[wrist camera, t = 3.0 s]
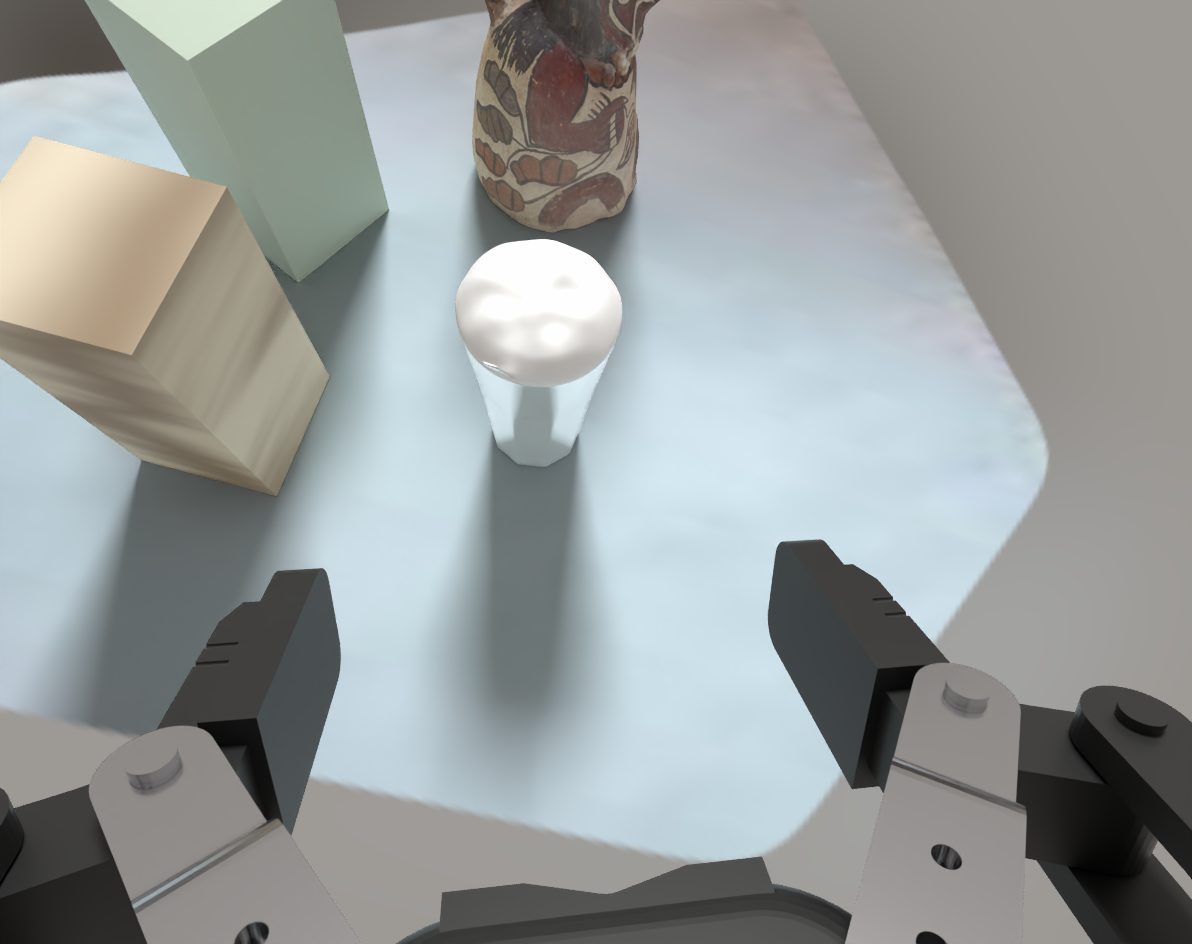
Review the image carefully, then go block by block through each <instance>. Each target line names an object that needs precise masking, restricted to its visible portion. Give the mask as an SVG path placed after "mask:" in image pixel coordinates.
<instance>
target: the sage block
mask: <svg viewBox="0 0 1192 944" xmlns="http://www.w3.org/2000/svg"><path fill="white" fill-rule="evenodd" d="M85 1H86V3H87V5H88V6H89V8H90V10H91V11H92V13H93V15H94V16H95V18H96V20H97V21H98V23H99V25H100V26H101V28H102V30H103V32H104V33H105V35H106V37H107V38H108V40H109V42H110V43H111V45H112V47H113V48H114V50H115V51H116V53H117V55H118V56H119V58H120V60H121V62H122V63H123V65H124V67H125V68H126V70H127V72H128V73H129V75H130V77H131V78H132V80H133V82H134V83H135V85H136V87H137V88H138V90H139V92H140V93H141V95H142V97H143V99H144V100H145V102H146V104H147V105H148V107H149V109H150V110H151V112H152V114H153V115H154V117H155V119H156V120H157V122H158V124H159V125H160V127H161V129H162V130H163V132H164V134H165V135H166V137H167V139H168V140H169V142H170V144H171V145H172V147H173V149H174V150H175V152H176V154H177V155H178V157H179V159H180V160H181V162H182V164H183V166H184V167H185V169H186V171H187V172H188V174H189V176H190V177H191V178H195V179H199V180H203V181H207V182H210V183H214V184H218V185H222V186H225V187H227V188H228V190H229V192H230V194H231V195H232V197H233V199H234V201H235V203H236V205H237V207H238V208H239V210H240V212H241V214H242V216H243V218H244V219H245V221H246V223H247V225H248V227H249V229H250V230H251V232H252V234H253V236H254V238H255V240H256V241H257V243H258V245H259V247H260V249H261V251H262V253H263V254H264V256H265V257H267V258H268V259H269V260H270V261H272V262H273V263H274V264H275V265H277V266H278V267H279V268H280V269H282V270H283V271H284V272H285V273H287V274H288V275H289V276H290V277H291V278H293V279H294V280H295V281H296V282H298V283H299V282H301V281H302V280H303V279H304V278H306V277H307V276H308V275H309V274H310V273H312V272H313V271H314V270H315V269H317V268H318V267H319V266H320V265H322V264H323V263H324V262H325V261H326V260H328V259H329V258H330V257H331V256H333V255H334V254H335V253H336V252H338V251H339V250H340V249H341V248H342V247H344V246H345V245H346V244H347V243H349V242H350V241H351V240H352V239H354V238H355V237H356V236H357V235H358V234H360V233H361V232H362V231H363V230H365V229H366V228H367V227H368V226H370V225H371V224H372V223H373V222H374V221H376V220H377V219H378V218H379V217H381V216H382V215H383V214H384V213H385V212H387V211H388V210H389V208H388V204H387V200H386V196H385V192H384V189H383V185H382V181H381V177H380V173H379V169H378V165H377V162H376V158H375V154H374V150H373V146H372V142H371V138H370V135H369V131H368V127H367V123H366V119H365V115H364V111H363V108H362V104H361V100H360V96H359V92H358V88H357V84H356V81H355V77H354V73H353V69H352V65H351V61H350V57H349V54H348V50H347V46H346V42H345V38H344V34H343V30H342V27H341V23H340V19H339V15H338V11H337V7H336V3H335V0H85Z"/></svg>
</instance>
